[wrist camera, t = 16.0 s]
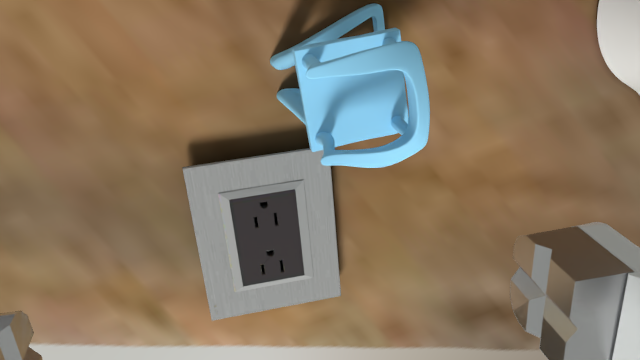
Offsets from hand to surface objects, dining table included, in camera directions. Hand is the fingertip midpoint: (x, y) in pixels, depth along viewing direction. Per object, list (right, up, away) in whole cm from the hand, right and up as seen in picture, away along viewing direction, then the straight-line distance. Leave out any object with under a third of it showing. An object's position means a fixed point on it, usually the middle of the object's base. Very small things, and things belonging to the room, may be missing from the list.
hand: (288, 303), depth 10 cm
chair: (+1, +10, +32) cm, 34 cm away
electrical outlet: (-4, -1, +36) cm, 37 cm away
